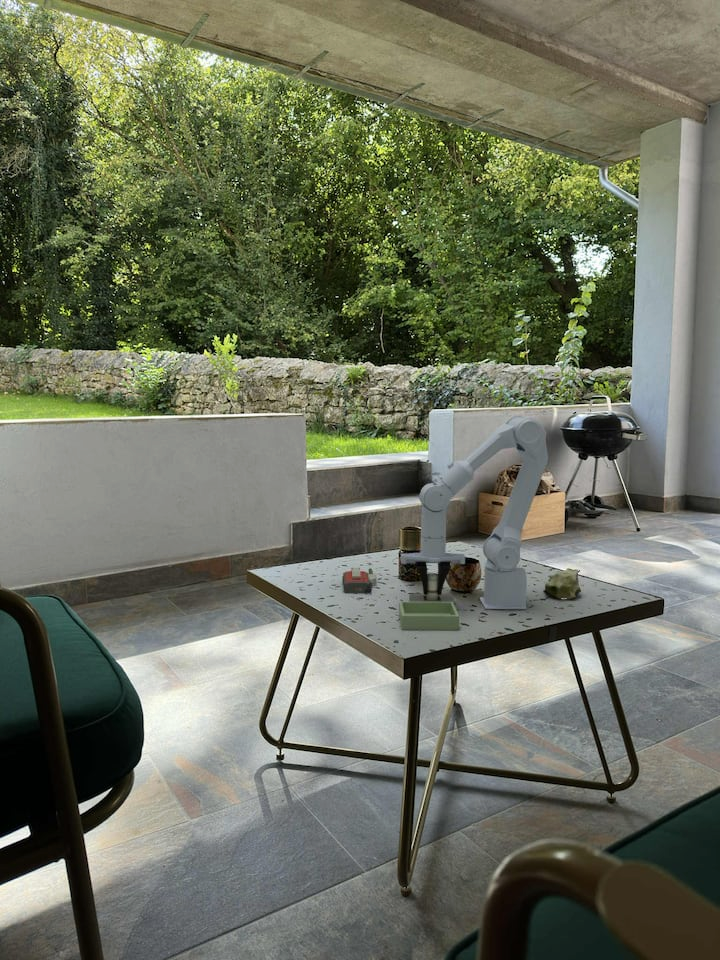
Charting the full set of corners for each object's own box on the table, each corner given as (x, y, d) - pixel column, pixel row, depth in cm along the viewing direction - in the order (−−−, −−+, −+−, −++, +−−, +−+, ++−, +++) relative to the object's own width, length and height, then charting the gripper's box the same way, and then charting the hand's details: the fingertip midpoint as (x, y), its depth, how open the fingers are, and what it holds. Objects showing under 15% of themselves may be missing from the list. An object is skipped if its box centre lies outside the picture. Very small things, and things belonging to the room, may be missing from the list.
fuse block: (451, 601, 171) (451, 593, 171) (455, 611, 164) (455, 602, 164) (409, 601, 171) (409, 593, 171) (411, 611, 164) (411, 602, 164)
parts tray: (452, 614, 161) (452, 601, 161) (458, 630, 152) (459, 616, 151) (399, 614, 161) (399, 601, 161) (401, 629, 151) (402, 616, 151)
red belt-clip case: (379, 596, 177) (374, 574, 196) (379, 578, 176) (374, 558, 196) (343, 596, 176) (341, 574, 196) (343, 579, 176) (341, 558, 195)
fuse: (437, 604, 169) (437, 572, 168) (438, 607, 166) (439, 576, 165) (425, 604, 169) (426, 572, 168) (426, 607, 166) (427, 575, 165)
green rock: (570, 595, 182) (579, 565, 180) (582, 610, 173) (591, 579, 171) (535, 588, 181) (543, 558, 179) (545, 603, 172) (553, 571, 170)
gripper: (402, 539, 161) (402, 598, 163) (467, 540, 161) (466, 598, 163) (400, 533, 168) (400, 589, 170) (462, 533, 168) (461, 589, 170)
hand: (432, 593), depth 167 cm, fingers closed on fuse, 3 cm apart
